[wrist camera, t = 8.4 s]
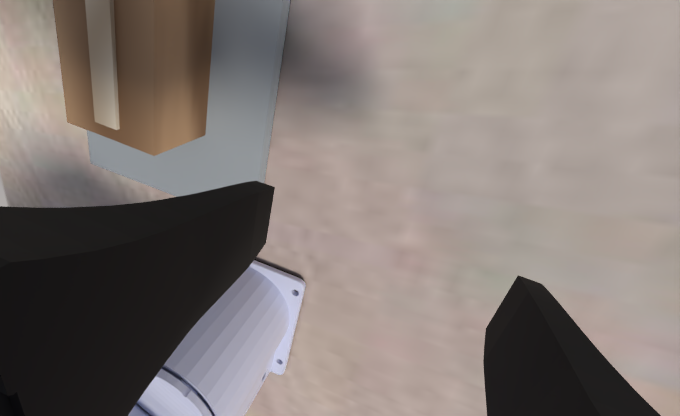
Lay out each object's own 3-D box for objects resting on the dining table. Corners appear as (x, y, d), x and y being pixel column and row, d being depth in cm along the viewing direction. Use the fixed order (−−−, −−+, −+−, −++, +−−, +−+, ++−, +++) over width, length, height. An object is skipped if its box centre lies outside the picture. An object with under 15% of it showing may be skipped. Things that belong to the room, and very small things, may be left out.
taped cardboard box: (219, -53, 17) (150, -77, 13) (205, 135, 21) (151, 157, 17) (125, -80, 17) (34, -109, 14) (130, 107, 22) (63, 123, 18)
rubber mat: (259, 219, 23) (252, 225, 23) (100, 159, 25) (90, 163, 25) (313, -159, 15) (305, -168, 14) (65, -208, 17) (48, -218, 16)
